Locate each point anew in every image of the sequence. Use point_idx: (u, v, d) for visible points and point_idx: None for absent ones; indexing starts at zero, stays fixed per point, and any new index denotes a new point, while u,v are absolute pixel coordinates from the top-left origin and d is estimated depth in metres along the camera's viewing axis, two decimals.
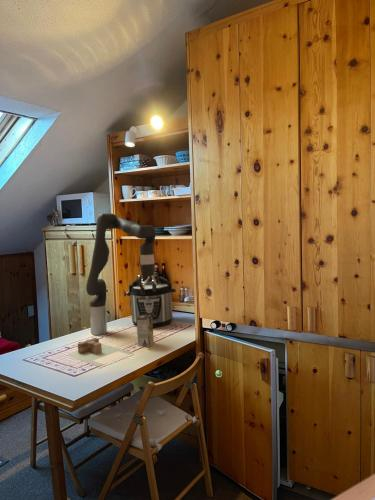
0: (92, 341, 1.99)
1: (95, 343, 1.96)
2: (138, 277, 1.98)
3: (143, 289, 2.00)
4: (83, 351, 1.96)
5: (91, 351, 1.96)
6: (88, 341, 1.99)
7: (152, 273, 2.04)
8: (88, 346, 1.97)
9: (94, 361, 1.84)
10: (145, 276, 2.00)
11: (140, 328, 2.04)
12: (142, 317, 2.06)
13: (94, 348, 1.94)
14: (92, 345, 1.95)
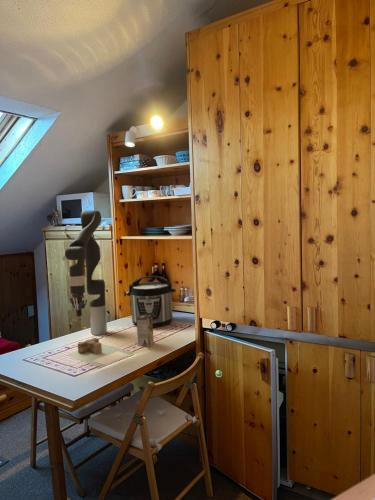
0: (92, 341, 1.99)
1: (95, 343, 1.96)
2: (84, 302, 1.99)
3: None
4: (83, 351, 1.96)
5: (91, 351, 1.96)
6: (88, 341, 1.99)
7: None
8: (88, 346, 1.97)
9: (94, 361, 1.84)
10: None
11: (140, 328, 2.04)
12: (142, 317, 2.06)
13: (94, 348, 1.94)
14: (92, 345, 1.95)
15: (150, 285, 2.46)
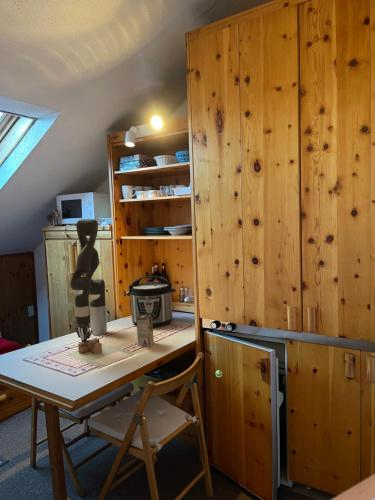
0: (93, 341, 1.99)
1: (95, 343, 1.95)
2: (90, 333, 1.98)
3: None
4: (83, 351, 1.96)
5: (91, 351, 1.96)
6: (89, 341, 1.99)
7: None
8: (88, 346, 1.97)
9: (94, 361, 1.84)
10: None
11: (140, 328, 2.04)
12: (142, 317, 2.06)
13: (94, 348, 1.94)
14: (92, 345, 1.95)
15: (150, 285, 2.46)
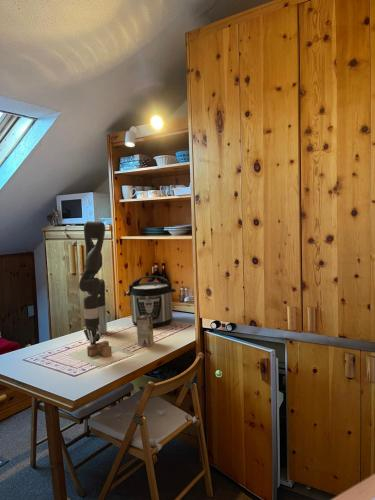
0: (102, 344, 1.94)
1: (105, 346, 1.90)
2: (99, 335, 1.93)
3: None
4: (93, 354, 1.91)
5: (101, 354, 1.91)
6: (98, 344, 1.94)
7: None
8: (98, 349, 1.92)
9: (94, 361, 1.84)
10: None
11: (140, 328, 2.04)
12: (142, 317, 2.06)
13: (104, 351, 1.89)
14: (102, 348, 1.90)
15: (150, 285, 2.46)
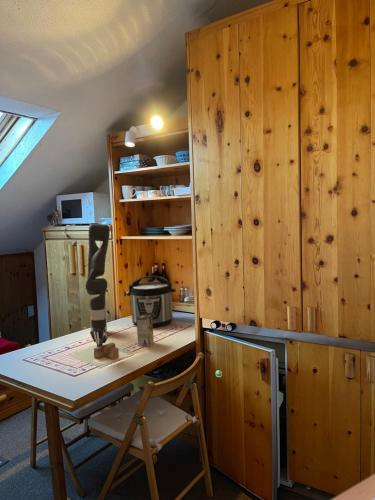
0: (109, 346, 1.90)
1: (112, 348, 1.87)
2: (106, 337, 1.90)
3: None
4: (99, 356, 1.87)
5: (108, 357, 1.87)
6: (104, 346, 1.91)
7: None
8: (105, 351, 1.89)
9: (94, 361, 1.84)
10: None
11: (140, 328, 2.04)
12: (142, 317, 2.06)
13: (111, 353, 1.85)
14: (109, 350, 1.86)
15: (150, 285, 2.46)
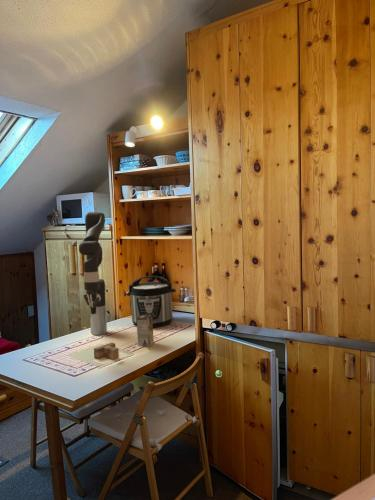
0: (109, 346, 1.90)
1: (112, 348, 1.87)
2: (99, 299, 1.91)
3: None
4: (99, 356, 1.87)
5: (108, 357, 1.87)
6: (104, 346, 1.91)
7: None
8: (105, 351, 1.89)
9: (94, 361, 1.84)
10: None
11: (140, 328, 2.04)
12: (142, 317, 2.06)
13: (111, 353, 1.85)
14: (109, 350, 1.86)
15: (150, 285, 2.46)
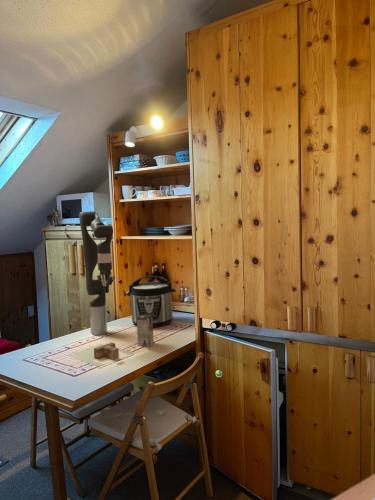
0: (109, 346, 1.90)
1: (112, 348, 1.87)
2: (112, 279, 2.07)
3: None
4: (99, 356, 1.87)
5: (108, 357, 1.87)
6: (104, 346, 1.91)
7: None
8: (105, 351, 1.89)
9: (94, 361, 1.84)
10: None
11: (140, 328, 2.04)
12: (142, 317, 2.06)
13: (111, 353, 1.85)
14: (109, 350, 1.86)
15: (150, 285, 2.46)
